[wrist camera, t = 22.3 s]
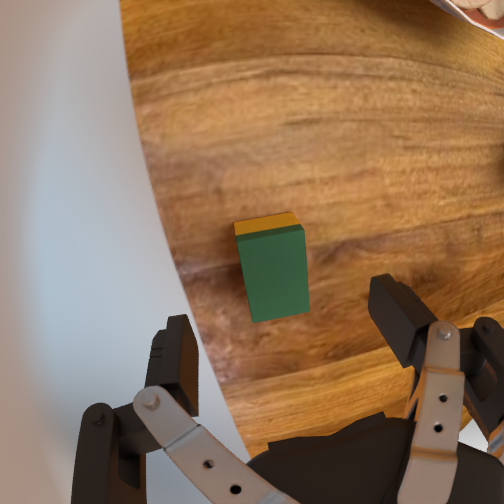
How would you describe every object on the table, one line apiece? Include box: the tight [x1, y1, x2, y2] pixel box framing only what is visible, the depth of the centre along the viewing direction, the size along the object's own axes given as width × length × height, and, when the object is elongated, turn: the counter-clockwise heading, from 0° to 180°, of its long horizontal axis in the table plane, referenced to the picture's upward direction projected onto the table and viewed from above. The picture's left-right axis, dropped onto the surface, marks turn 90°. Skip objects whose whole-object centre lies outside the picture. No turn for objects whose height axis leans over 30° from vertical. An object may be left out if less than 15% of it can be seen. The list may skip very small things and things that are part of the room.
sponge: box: [234, 212, 310, 323], centre depth 22 cm, size 7×4×4 cm, turn 9°
